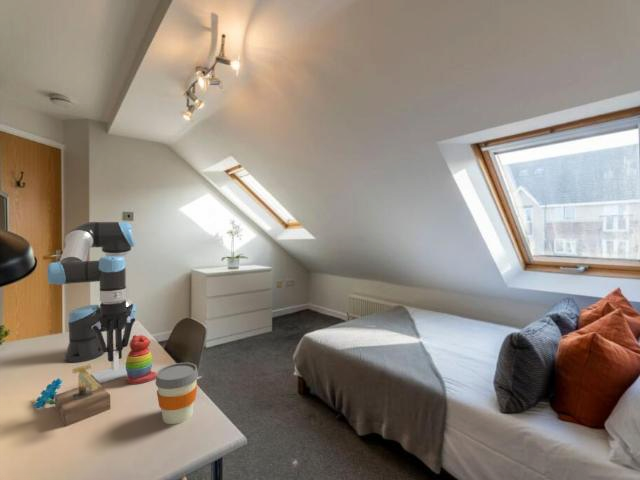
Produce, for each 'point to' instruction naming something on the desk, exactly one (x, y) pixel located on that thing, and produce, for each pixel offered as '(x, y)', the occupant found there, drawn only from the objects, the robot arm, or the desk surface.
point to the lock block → (81, 404)
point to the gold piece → (85, 379)
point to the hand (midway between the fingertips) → (115, 369)
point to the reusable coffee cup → (177, 391)
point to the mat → (110, 374)
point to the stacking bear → (139, 361)
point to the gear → (48, 394)
